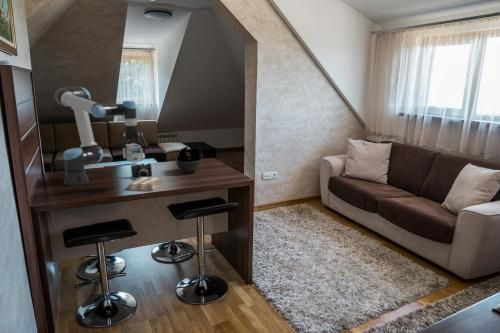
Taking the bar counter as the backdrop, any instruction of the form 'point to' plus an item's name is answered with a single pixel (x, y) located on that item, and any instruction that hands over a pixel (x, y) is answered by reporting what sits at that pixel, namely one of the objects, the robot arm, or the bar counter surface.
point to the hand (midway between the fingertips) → (134, 158)
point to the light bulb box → (133, 152)
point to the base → (145, 183)
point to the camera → (141, 170)
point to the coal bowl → (188, 160)
